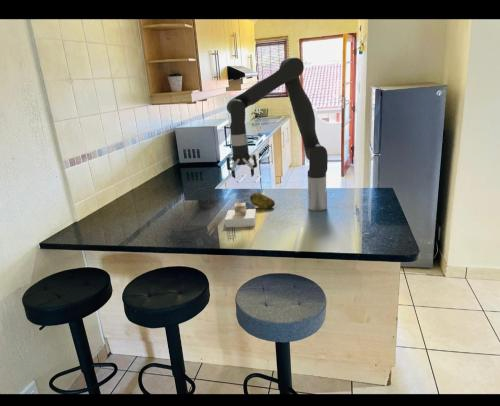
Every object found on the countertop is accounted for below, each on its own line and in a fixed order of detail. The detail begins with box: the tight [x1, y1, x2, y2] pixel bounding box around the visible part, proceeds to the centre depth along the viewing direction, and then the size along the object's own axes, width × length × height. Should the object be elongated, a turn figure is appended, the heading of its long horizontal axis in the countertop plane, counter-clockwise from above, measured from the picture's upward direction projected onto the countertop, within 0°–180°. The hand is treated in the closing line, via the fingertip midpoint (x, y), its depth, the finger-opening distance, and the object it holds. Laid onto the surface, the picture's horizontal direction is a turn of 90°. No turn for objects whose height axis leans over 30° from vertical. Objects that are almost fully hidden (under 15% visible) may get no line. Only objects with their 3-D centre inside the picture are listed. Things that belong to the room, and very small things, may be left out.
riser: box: [224, 208, 257, 228], centre depth 185 cm, size 14×13×4 cm
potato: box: [249, 192, 276, 210], centre depth 201 cm, size 8×13×8 cm, turn 52°
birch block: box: [233, 202, 247, 216], centre depth 183 cm, size 5×5×5 cm
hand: (243, 177), depth 180 cm, fingers open, 8 cm apart
